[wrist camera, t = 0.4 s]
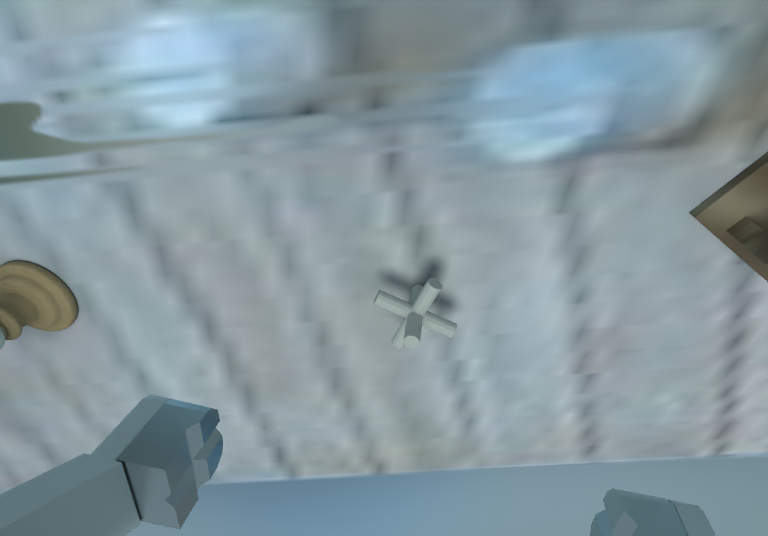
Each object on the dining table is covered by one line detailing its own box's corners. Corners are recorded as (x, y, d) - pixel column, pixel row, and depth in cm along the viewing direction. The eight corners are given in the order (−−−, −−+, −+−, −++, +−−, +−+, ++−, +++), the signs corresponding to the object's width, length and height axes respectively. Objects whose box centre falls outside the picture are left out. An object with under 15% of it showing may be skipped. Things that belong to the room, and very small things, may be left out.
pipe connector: (473, 277, 53) (476, 329, 45) (435, 332, 58) (432, 387, 50) (399, 243, 52) (387, 290, 44) (368, 302, 58) (352, 354, 49)
